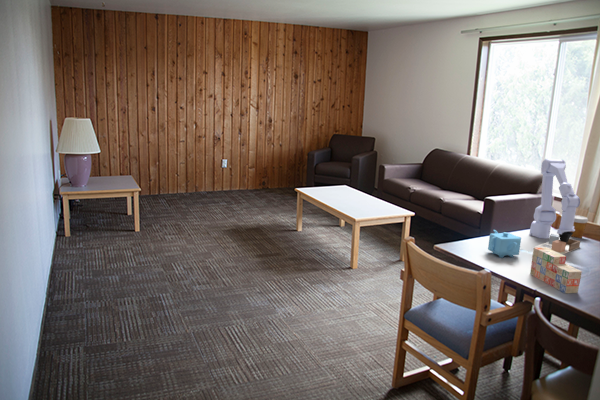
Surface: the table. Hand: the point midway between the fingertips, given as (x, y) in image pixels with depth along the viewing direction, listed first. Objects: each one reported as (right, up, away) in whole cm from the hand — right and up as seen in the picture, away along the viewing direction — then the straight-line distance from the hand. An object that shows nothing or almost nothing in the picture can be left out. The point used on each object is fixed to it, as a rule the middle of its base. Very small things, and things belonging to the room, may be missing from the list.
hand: (563, 245), depth 240 cm
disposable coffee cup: (+20, +2, +24) cm, 31 cm away
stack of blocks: (-27, -12, -41) cm, 51 cm away
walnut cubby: (+4, -1, +3) cm, 5 cm away
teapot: (-34, -4, -7) cm, 35 cm away
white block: (0, 0, +10) cm, 10 cm away
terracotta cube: (-4, -2, -3) cm, 6 cm away
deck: (-2, -2, +3) cm, 4 cm away
